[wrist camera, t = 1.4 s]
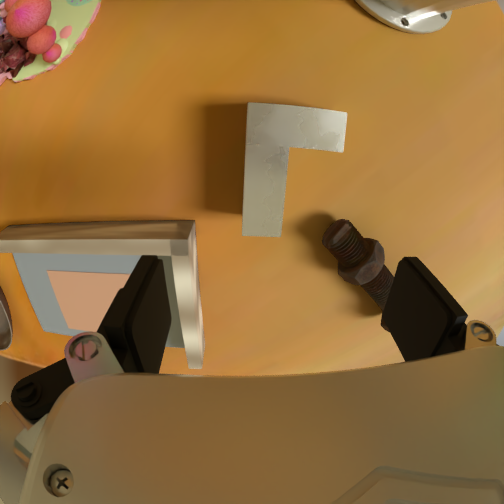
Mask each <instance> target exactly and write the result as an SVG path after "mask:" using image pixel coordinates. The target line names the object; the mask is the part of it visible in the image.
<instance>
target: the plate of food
mask: <svg viewBox="0 0 504 504" xmlns="http://www.w3.org/2000/svg"><path fill="white" fill-rule="evenodd" d="M100 2H101V0H0V85H1V84H2V83H3V82H4V80H5V79H6V78H7V77H8V79H13V81H14V82H21V81H22V80H25V79H33V78H35V77H36V76H37V75H38V74H41V73H45V72H46V71H48V70H53V69H55V68H56V67H57V66H58V65H59V64H60V63H62V62H63V61H64V60H65V59H66V58H67V57H69V56H70V55H71V54H72V52H73V51H74V49H75V47H76V45H77V44H78V43H79V42H81V41H82V40H83V39H84V37H85V34H86V32H87V30H88V27H89V26H90V25H91V23H93V21H94V20H95V17H96V15H97V13H98V10H99V8H100V6H101V5H100Z"/></svg>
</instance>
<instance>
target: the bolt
mask: <svg viewBox="0 0 504 504" xmlns="http://www.w3.org/2000/svg"><path fill="white" fill-rule="evenodd" d="M322 243H323V245H324V246H325V247H326V248H327V249H328V250H329V251H330V252H331V253H332V254H333V255H334V256H335V257H336V259H338V261H339V262H338V274H339V275H340V276H341V277H342V278H343V279H344V281H347V282H349V283H351V284H354V285H361V286H362V287H363V289H364V290H365V291H366V292H367V293H368V294H369V295H370V296H371V297H372V298H373V300H374V301H375V302H376V303H377V304H378V306H379V307H380V308H381V309H382V319H381V326H382V327H383V328H384V329H385V330H387V331H388V332H390V331H389V329H388V327H387V326H386V324H385V322H384V320H383V311H384V308H385V305H386V302H387V299H388V296H389V293H390V290H391V286H392V283H393V280H394V276H393V275H392V274H391V272H390V271H389V270H388V268H387V267H386V266H385V265H384V260H385V259H384V249H383V247H382V246H381V244H380V243H379V242H378V241H377V240H374V239H371V238H363V237H362V236H361V234H360V233H359V232H358V231H357V229H356V228H355V227H354V226H353V224H352V223H351V222H349V220H345V219H340V220H337V221H336V222H335V223H333V224H332V225H331V226H330V227H329V228H328V229H327V231H326V232H325V234H324V236H323V240H322Z"/></svg>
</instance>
